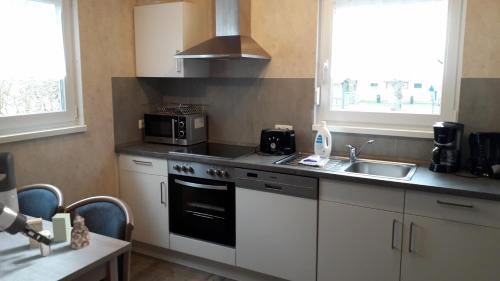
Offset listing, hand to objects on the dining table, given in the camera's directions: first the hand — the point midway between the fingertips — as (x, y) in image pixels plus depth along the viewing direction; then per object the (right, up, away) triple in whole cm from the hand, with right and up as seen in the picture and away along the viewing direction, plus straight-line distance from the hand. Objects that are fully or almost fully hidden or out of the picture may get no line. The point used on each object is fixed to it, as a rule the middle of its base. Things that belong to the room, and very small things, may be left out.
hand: (45, 240), depth 152 cm
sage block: (0, -3, +14) cm, 14 cm away
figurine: (+9, -4, +9) cm, 13 cm away
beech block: (-8, -4, +8) cm, 12 cm away
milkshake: (-1, -6, 0) cm, 6 cm away
